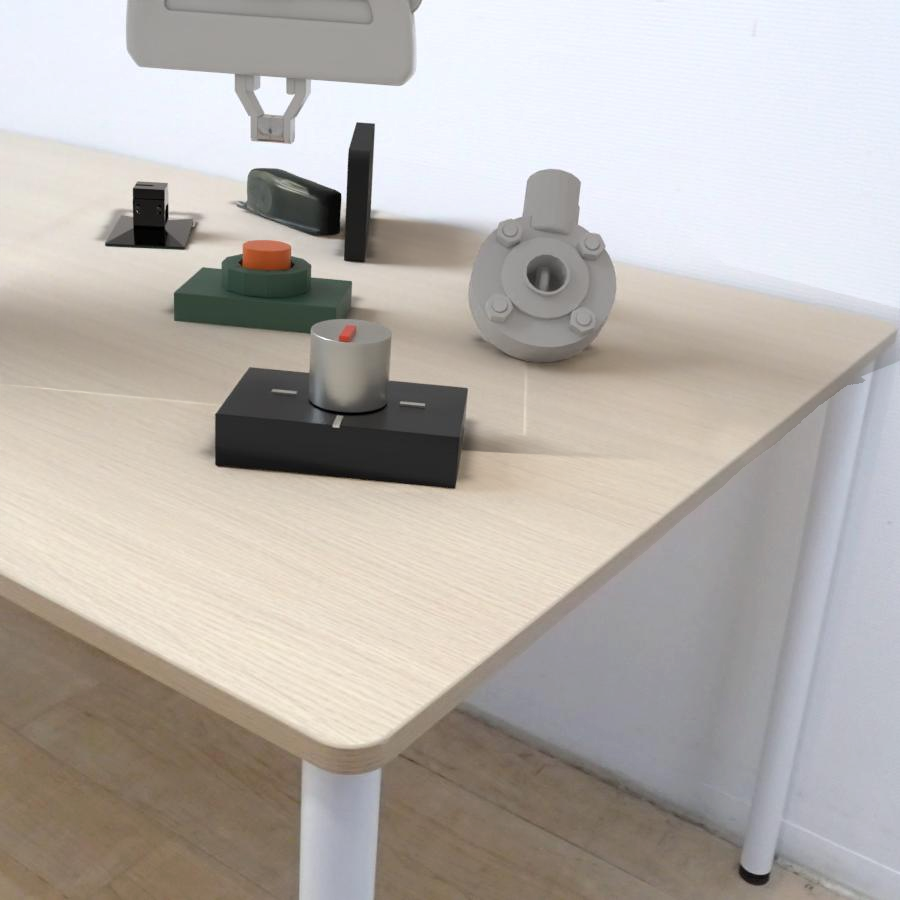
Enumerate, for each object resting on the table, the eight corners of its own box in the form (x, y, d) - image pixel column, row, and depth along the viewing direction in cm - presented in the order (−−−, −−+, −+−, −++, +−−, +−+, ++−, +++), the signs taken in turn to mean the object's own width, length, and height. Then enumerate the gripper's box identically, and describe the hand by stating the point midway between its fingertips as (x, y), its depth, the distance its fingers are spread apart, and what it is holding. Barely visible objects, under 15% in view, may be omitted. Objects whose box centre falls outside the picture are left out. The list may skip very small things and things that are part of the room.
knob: (317, 382, 68) (320, 310, 66) (393, 390, 67) (397, 318, 66) (300, 408, 64) (302, 332, 62) (380, 417, 63) (385, 340, 62)
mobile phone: (347, 188, 115) (255, 159, 124) (324, 190, 113) (231, 161, 122) (344, 238, 117) (253, 206, 126) (321, 241, 115) (230, 208, 124)
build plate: (121, 219, 117) (120, 172, 115) (196, 223, 118) (196, 176, 116) (104, 246, 106) (102, 194, 104) (187, 250, 107) (187, 199, 105)
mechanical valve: (464, 328, 80) (491, 140, 85) (445, 415, 97) (469, 254, 102) (612, 352, 80) (631, 163, 85) (567, 434, 97) (585, 273, 102)
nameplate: (364, 264, 107) (369, 152, 103) (343, 262, 107) (348, 151, 103) (370, 217, 126) (375, 122, 123) (352, 216, 126) (356, 120, 122)
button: (237, 271, 87) (237, 248, 86) (248, 260, 90) (248, 238, 90) (285, 276, 87) (286, 252, 86) (294, 264, 90) (295, 242, 90)
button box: (173, 321, 86) (173, 268, 85) (202, 293, 94) (202, 244, 92) (335, 336, 86) (337, 283, 85) (351, 307, 93) (353, 258, 92)
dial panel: (213, 468, 63) (213, 413, 62) (249, 412, 71) (250, 362, 70) (455, 491, 62) (459, 436, 61) (464, 432, 70) (468, 383, 69)
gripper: (429, -55, 82) (419, 146, 88) (142, -75, 83) (149, 125, 88) (421, -56, 77) (411, 159, 82) (112, -78, 77) (122, 137, 83)
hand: (272, 141), depth 85 cm, fingers closed
